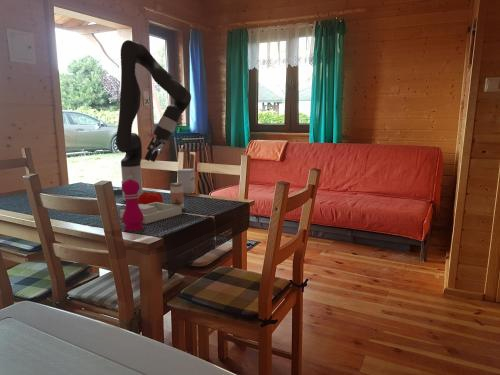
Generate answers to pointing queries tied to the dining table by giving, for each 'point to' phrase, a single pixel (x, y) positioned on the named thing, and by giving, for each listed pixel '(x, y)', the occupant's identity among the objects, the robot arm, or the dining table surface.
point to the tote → (159, 212)
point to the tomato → (150, 198)
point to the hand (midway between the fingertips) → (149, 160)
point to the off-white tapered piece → (147, 209)
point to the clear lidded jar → (177, 194)
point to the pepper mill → (132, 205)
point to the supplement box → (187, 180)
